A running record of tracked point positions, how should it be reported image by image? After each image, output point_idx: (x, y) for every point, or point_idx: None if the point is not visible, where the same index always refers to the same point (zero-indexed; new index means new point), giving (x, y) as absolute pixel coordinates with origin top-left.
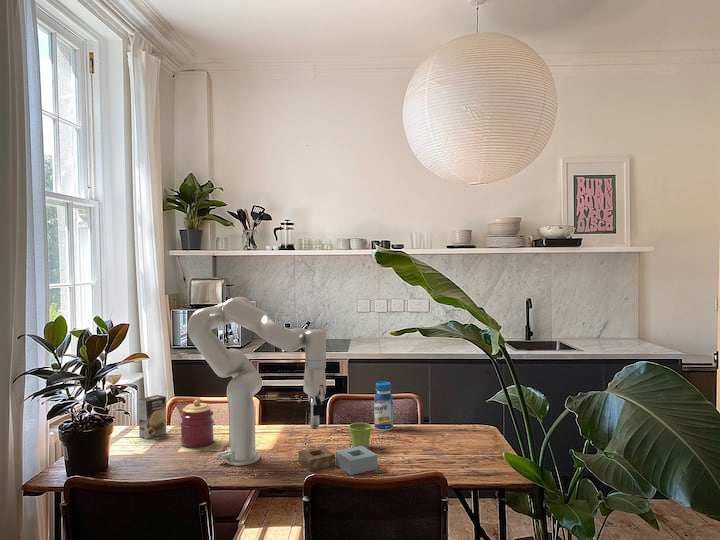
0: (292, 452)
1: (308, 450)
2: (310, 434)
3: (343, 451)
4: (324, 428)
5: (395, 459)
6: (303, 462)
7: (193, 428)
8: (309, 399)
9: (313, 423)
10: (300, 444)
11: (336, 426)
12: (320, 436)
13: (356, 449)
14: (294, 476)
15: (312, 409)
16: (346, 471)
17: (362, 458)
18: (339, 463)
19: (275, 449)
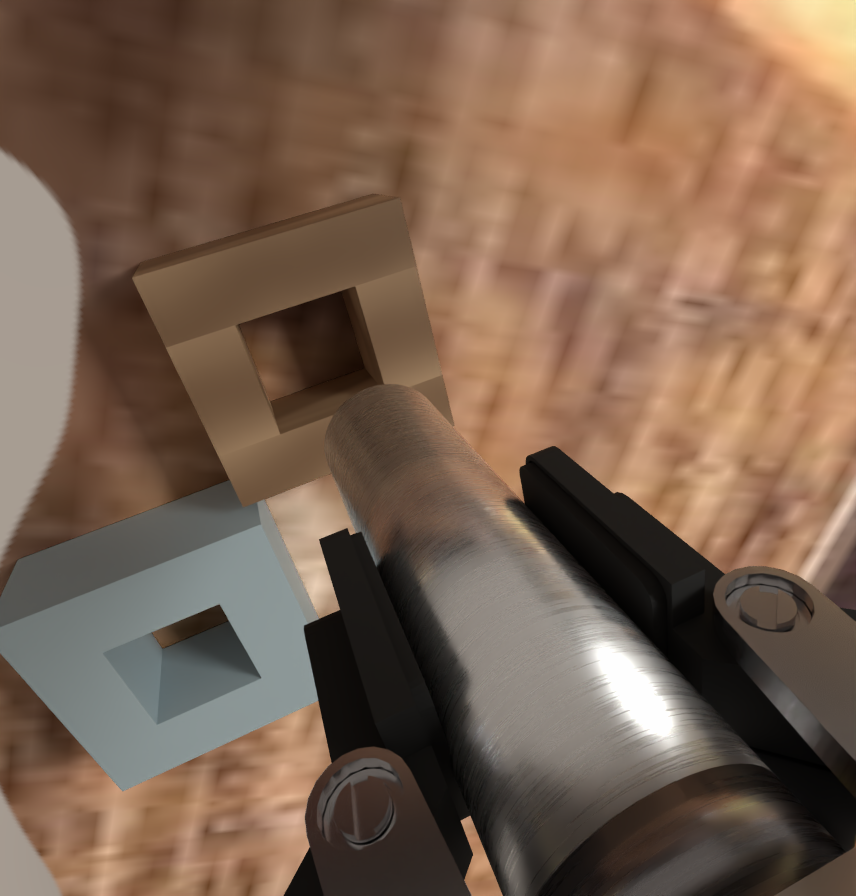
0: (583, 177)
1: (394, 296)
2: (811, 353)
3: (240, 580)
4: (844, 442)
5: (274, 778)
6: (277, 225)
7: None
8: (748, 649)
9: (349, 454)
10: (697, 265)
11: (832, 504)
12: (754, 410)
13: (267, 663)
14: (12, 85)
15: (436, 578)
16: (82, 538)
17: (52, 709)
18: (194, 507)
19: (695, 39)
